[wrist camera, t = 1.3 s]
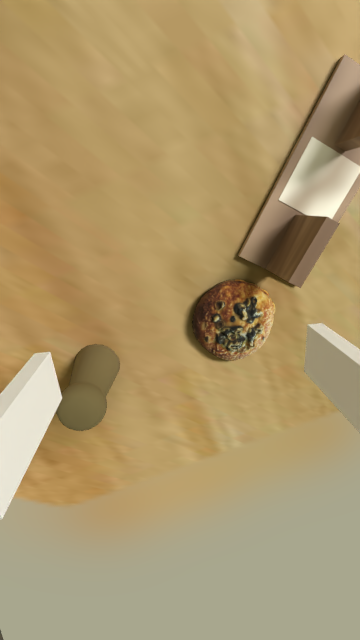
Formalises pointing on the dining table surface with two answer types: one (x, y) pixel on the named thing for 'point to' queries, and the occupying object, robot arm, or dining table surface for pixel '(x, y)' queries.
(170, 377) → the dining table surface
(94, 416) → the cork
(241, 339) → the bread roll
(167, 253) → the dining table surface
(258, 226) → the notched board
